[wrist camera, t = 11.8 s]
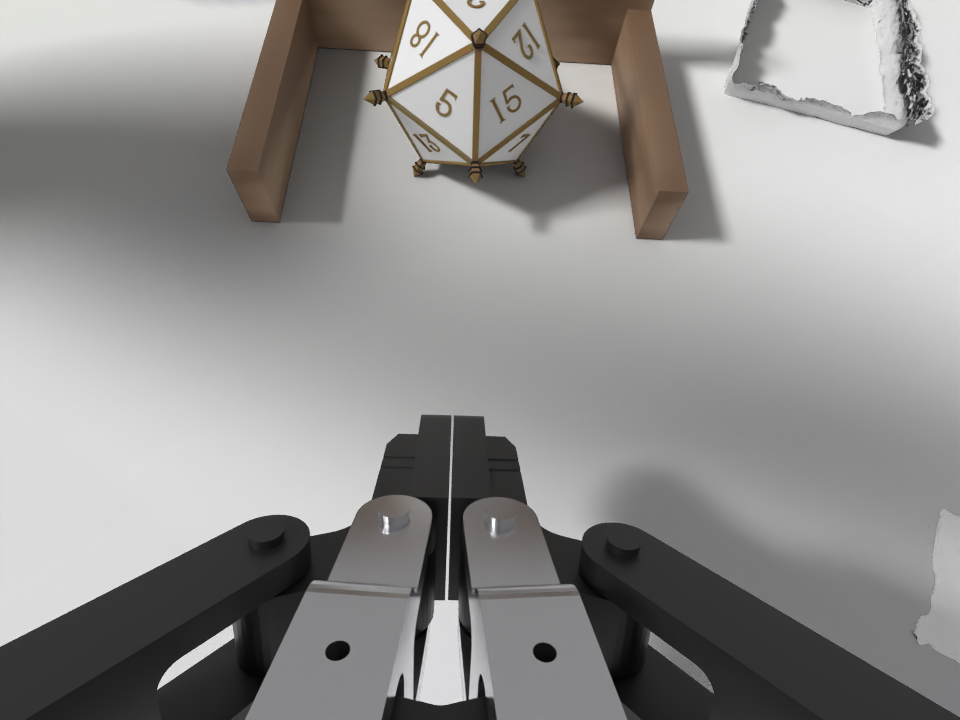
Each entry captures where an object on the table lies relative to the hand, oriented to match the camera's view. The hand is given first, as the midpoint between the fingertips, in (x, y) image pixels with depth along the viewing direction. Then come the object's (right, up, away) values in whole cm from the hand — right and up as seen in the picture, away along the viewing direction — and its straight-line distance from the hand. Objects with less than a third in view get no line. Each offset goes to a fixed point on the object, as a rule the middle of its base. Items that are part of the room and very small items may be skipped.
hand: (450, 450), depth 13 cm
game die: (0, +12, +13) cm, 18 cm away
